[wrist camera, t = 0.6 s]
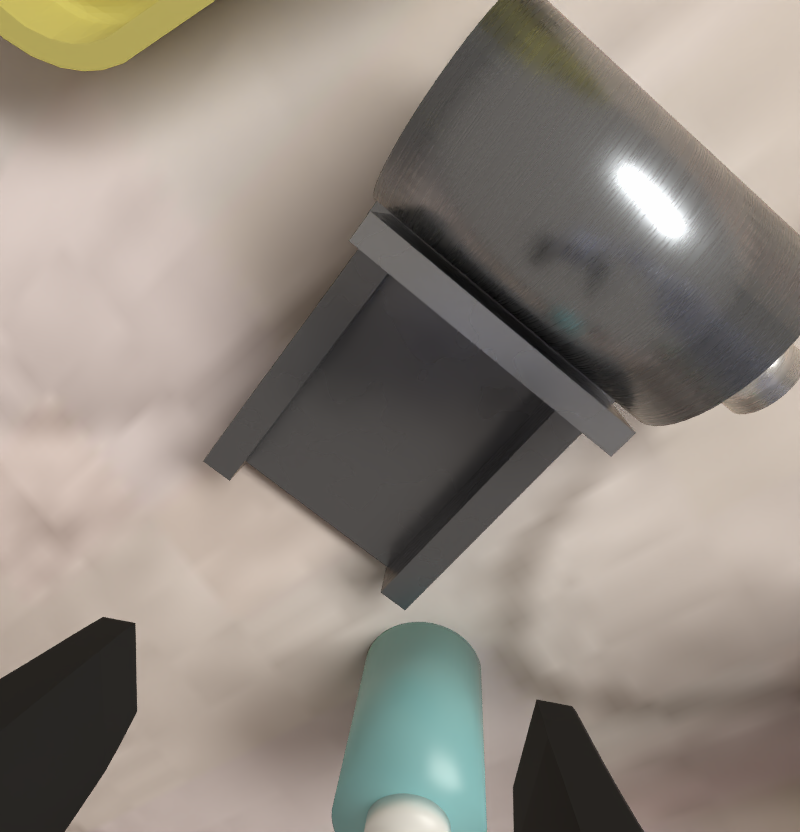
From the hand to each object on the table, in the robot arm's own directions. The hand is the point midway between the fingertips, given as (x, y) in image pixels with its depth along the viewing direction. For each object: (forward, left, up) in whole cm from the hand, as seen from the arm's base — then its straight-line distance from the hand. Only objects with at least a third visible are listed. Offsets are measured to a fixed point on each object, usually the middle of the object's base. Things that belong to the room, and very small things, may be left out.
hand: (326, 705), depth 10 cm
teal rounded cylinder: (-6, +6, -10) cm, 13 cm away
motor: (0, -5, -10) cm, 11 cm away
